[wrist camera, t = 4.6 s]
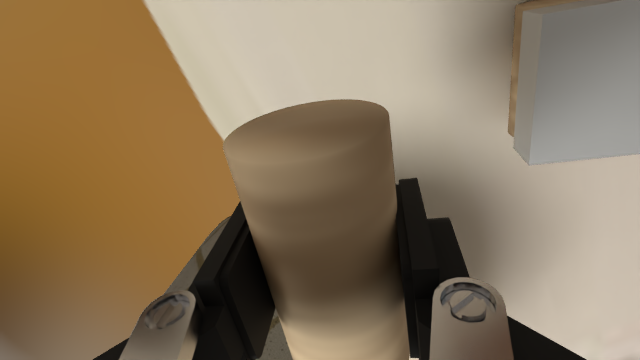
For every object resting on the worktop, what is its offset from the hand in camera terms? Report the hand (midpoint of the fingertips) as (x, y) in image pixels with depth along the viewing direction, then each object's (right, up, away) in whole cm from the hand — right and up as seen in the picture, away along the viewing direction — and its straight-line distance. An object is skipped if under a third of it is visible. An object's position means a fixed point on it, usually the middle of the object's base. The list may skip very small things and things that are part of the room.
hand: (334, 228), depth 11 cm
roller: (0, 0, +1) cm, 1 cm away
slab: (+16, +8, +8) cm, 19 cm away
